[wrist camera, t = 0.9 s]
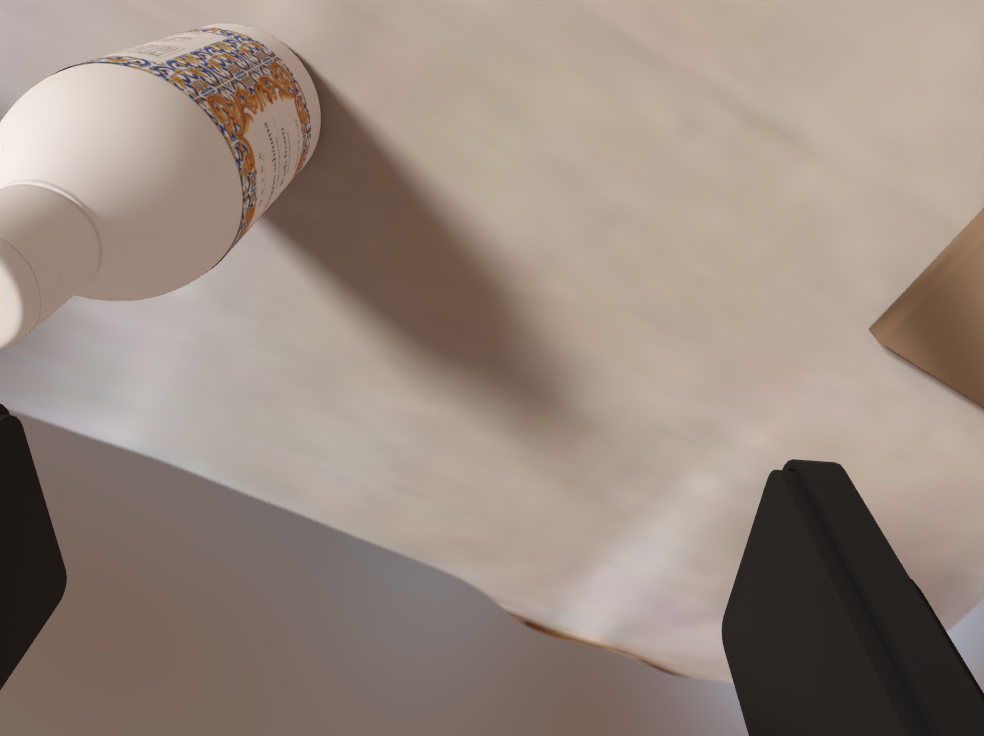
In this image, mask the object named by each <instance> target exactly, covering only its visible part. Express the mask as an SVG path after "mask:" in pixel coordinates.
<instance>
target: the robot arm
mask: <svg viewBox="0 0 984 736" xmlns="http://www.w3.org/2000/svg"><path fill="white" fill-rule="evenodd" d="M66 580H67V575H66V569H65V566H64V563H63V559H62V556H61V553H60V549H59V546H58V543H57V539H56V536H55V532H54V529H53V526H52V522H51V519H50V516H49V513H48V509H47V506H46V502H45V499H44V496H43V492H42V489H41V486H40V482H39V479H38V476H37V473H36V469H35V466H34V462H33V459H32V456H31V453H30V449H29V446H28V442H27V439H26V436H25V432H24V429H23V426H22V424H21V422H20V420H19V419H18V418H17V417H15V416H12V415H10V414H9V411H8V410H7V409H6V408H5V407H4V406H3V405H2V404H0V690H1V688H2V687H3V685H4V684H5V682H6V681H7V680H8V678H9V676H10V675H11V673H12V672H13V670H14V669H15V668H16V666H17V665H18V663H19V662H20V660H21V659H22V657H23V656H24V654H25V653H26V651H27V650H28V648H29V647H30V645H31V644H32V642H33V641H34V639H35V638H36V637H37V635H38V634H39V632H40V631H41V629H42V628H43V626H44V625H45V623H46V622H47V620H48V619H49V617H50V616H51V614H52V613H53V611H54V610H55V608H56V607H57V605H58V604H59V602H60V600H61V599H62V597H63V594H64V591H65V587H66ZM722 640H723V646H724V650H725V654H726V657H727V661H728V664H729V668H730V671H731V675H732V678H733V682H734V685H735V689H736V692H737V696H738V699H739V702H740V706H741V709H742V713H743V717H744V720H745V723H746V727H747V731H748V734H749V736H984V693H983V692H982V690H981V689H980V687H979V685H978V683H977V682H976V680H975V678H974V677H973V675H972V673H971V672H970V670H969V669H968V667H967V666H966V664H965V662H964V660H963V659H962V657H961V655H960V654H959V652H958V650H957V649H956V647H955V646H954V644H953V643H952V641H951V639H950V637H949V636H948V634H947V632H946V631H945V629H944V627H943V626H942V624H941V622H940V621H939V619H938V617H937V616H936V614H935V613H934V611H933V609H932V608H931V606H930V604H929V603H928V601H927V599H926V598H925V596H924V594H923V593H922V591H921V590H920V589H919V587H918V586H917V585H916V584H915V582H914V581H913V580H912V579H910V578H909V576H908V574H907V573H906V571H905V569H904V568H903V566H902V564H901V563H900V561H899V559H898V558H897V556H896V554H895V553H894V551H893V549H892V548H891V546H890V544H889V543H888V541H887V539H886V538H885V536H884V534H883V533H882V531H881V529H880V528H879V526H878V524H877V523H876V521H875V519H874V518H873V516H872V514H871V513H870V511H869V509H868V508H867V506H866V505H865V503H864V501H863V500H862V498H861V496H860V495H859V493H858V491H857V490H856V488H855V486H854V485H853V483H852V481H851V480H850V478H849V476H848V475H847V473H846V471H845V470H844V468H843V467H842V466H841V465H840V464H838V463H835V462H821V461H807V460H790V461H788V462H787V463H786V464H785V465H784V468H783V470H773V471H772V472H771V473H770V474H769V477H768V479H767V482H766V485H765V488H764V491H763V495H762V498H761V501H760V504H759V507H758V510H757V513H756V516H755V520H754V523H753V526H752V529H751V532H750V535H749V538H748V541H747V545H746V548H745V551H744V554H743V557H742V560H741V563H740V567H739V570H738V573H737V576H736V579H735V582H734V585H733V588H732V592H731V595H730V598H729V601H728V604H727V607H726V610H725V614H724V617H723V622H722Z"/></svg>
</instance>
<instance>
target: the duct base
mask: <svg viewBox="0 0 984 736" xmlns="http://www.w3.org/2000/svg"><path fill="white" fill-rule="evenodd" d="M869 330H870V332H871V333H872V334H873V335H874V336H875V337H876V338H877V339H878V341H879V342H880V343H881V344H883V345H884V346H886V347H888V348H889V349H891V350H892V351H894V352H896V353H897V354H899V355H901V356H902V357H904V358H905V359H907V360H909V361H910V362H912V363H913V364H915V365H917V366H918V367H920V368H922V369H923V370H925V371H926V372H928V373H930V374H931V375H933V376H934V377H936V378H938V379H939V380H941V381H943V382H944V383H946V384H947V385H949V386H951V387H952V388H954V389H955V390H957V391H959V392H960V393H962V394H964V395H965V396H967V397H968V398H970V399H972V400H973V401H975V402H976V403H978V404H980V405H981V406H983V407H984V209H983V210H982V211H981V212H980V213H979V214H978V215H977V216H976V217H975V218H974V219H973V220H972V221H971V223H970V224H969V225H968V226H967V227H966V228H965V229H964V230H963V231H962V232H961V233H960V234H959V235H958V236H957V237H956V238H955V239H954V240H953V241H952V242H951V244H950V245H949V246H948V247H947V248H946V249H945V250H944V251H943V252H942V253H941V254H940V255H939V256H938V257H937V258H936V259H935V260H934V261H933V262H932V263H931V265H930V266H929V267H928V268H927V269H926V270H925V271H924V272H923V273H922V274H921V275H920V276H919V277H918V278H917V279H916V280H915V281H914V282H913V283H912V284H911V285H910V287H909V288H908V289H907V290H906V291H905V292H904V293H903V294H902V295H901V296H900V297H899V298H898V299H897V300H896V301H895V302H894V303H893V304H892V305H891V306H890V308H889V309H888V310H887V311H886V312H885V313H884V314H883V315H882V316H881V317H880V318H879V319H878V320H877V321H876V322H875V323H874V324H873V325H872V326H871V327H870V328H869Z"/></svg>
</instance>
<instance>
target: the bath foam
mask: <svg viewBox="0 0 984 736" xmlns="http://www.w3.org/2000/svg"><path fill="white" fill-rule="evenodd" d="M320 128H321V111H320V103H319V99H318V95H317V92H316V89H315V86H314V84H313V81H312V79H311V77H310V75H309V74H308V72H307V70H306V68H305V67H304V66H303V64H302V63H301V61H300V60H299V59H298V58H297V57H296V55H295V54H294V53H293V52H292V51H291V50H290V49H289V48H288V47H286V46H285V45H284V44H283V43H282V42H280V41H279V40H277V39H276V38H274V37H273V36H271V35H269V34H267V33H265V32H263V31H261V30H258V29H255V28H252V27H248V26H243V25H238V24H227V23H223V24H213V25H209V26H205V27H201V28H198V29H193V30H190V31H186V32H183V33H180V34H176V35H173V36H170V37H166V38H163V39H160V40H156V41H153V42H150V43H147V44H143V45H140V46H137V47H133V48H130V49H127V50H123V51H120V52H117V53H113V54H110V55H107V56H104V57H100V58H97V59H94V60H90V61H87V62H84V63H80V64H77V65H74V66H71V67H68V68H65V69H62V70H60V71H58V72H56V73H54V74H53V75H51V76H50V77H48V78H46V79H45V80H43V81H41V82H40V83H38V84H37V85H36V86H34V87H33V88H31V89H30V90H29V91H28V92H26V93H25V94H24V95H23V96H22V97H21V98H20V99H19V100H18V101H17V102H16V103H15V104H14V105H13V106H12V107H11V109H10V110H9V111H8V112H7V113H6V115H5V116H4V118H3V119H2V121H1V123H0V350H2V349H5V348H7V347H9V346H11V345H13V344H14V343H16V342H18V341H19V340H20V339H22V338H23V337H24V336H25V335H27V334H28V333H29V332H30V331H31V330H33V329H34V328H35V327H36V326H37V325H39V324H40V323H41V322H42V321H44V320H45V319H46V318H47V317H48V316H50V315H51V314H52V313H53V312H54V311H56V310H57V309H58V308H59V307H61V306H62V305H63V304H64V303H65V302H67V301H68V300H69V299H70V298H71V297H72V296H74V295H76V296H81V297H86V298H91V299H98V300H108V301H132V300H141V299H146V298H151V297H156V296H160V295H163V294H166V293H169V292H171V291H174V290H177V289H179V288H181V287H183V286H185V285H187V284H189V283H191V282H192V281H194V280H196V279H197V278H199V277H201V276H202V275H203V274H205V273H206V272H208V271H209V270H211V269H212V268H213V267H215V266H216V265H217V264H218V263H219V262H220V261H221V260H222V259H223V258H224V257H225V256H226V254H227V253H228V252H229V251H230V250H231V249H232V248H233V247H234V246H235V244H236V243H237V242H238V241H239V240H240V239H241V238H242V237H243V235H244V234H245V233H246V232H247V231H248V230H249V229H250V228H251V227H252V225H253V224H254V223H255V222H256V221H257V220H258V219H259V218H260V216H261V215H262V214H263V213H264V212H265V211H266V210H267V209H268V207H269V206H270V205H271V204H272V203H273V202H274V201H275V200H276V199H277V197H278V196H279V195H280V194H281V193H282V192H283V191H284V190H285V188H286V187H287V186H288V185H289V184H290V183H291V182H292V181H293V180H294V178H295V177H296V176H297V174H298V173H299V172H300V171H301V170H302V169H303V168H304V166H305V165H306V164H307V162H308V161H309V159H310V158H311V156H312V154H313V152H314V150H315V148H316V145H317V142H318V139H319V134H320Z"/></svg>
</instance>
